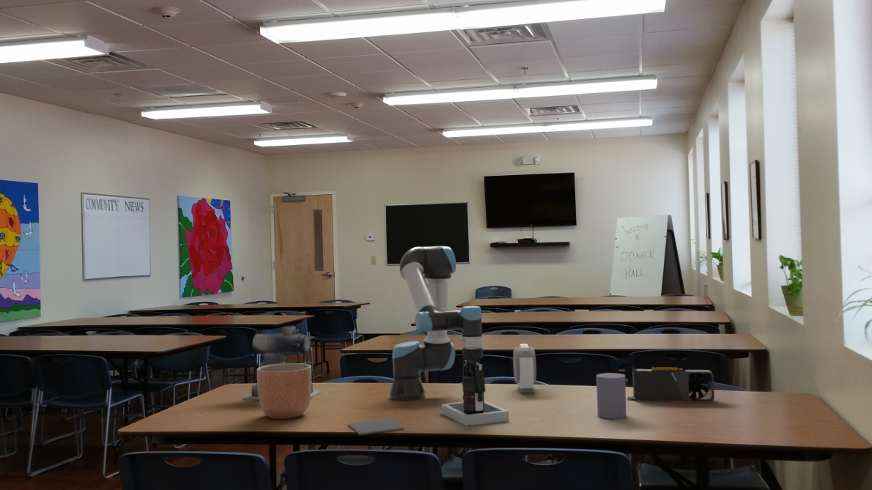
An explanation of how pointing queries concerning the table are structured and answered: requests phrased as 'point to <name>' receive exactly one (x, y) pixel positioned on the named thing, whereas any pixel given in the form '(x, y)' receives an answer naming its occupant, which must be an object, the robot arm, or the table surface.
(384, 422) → the mat
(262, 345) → the grinder
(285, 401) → the planter
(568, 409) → the table surface
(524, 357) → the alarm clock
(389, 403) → the table surface
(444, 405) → the bin
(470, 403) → the camera lens
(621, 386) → the container
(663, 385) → the graphics card
